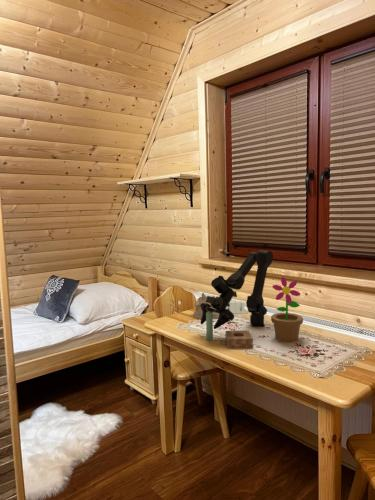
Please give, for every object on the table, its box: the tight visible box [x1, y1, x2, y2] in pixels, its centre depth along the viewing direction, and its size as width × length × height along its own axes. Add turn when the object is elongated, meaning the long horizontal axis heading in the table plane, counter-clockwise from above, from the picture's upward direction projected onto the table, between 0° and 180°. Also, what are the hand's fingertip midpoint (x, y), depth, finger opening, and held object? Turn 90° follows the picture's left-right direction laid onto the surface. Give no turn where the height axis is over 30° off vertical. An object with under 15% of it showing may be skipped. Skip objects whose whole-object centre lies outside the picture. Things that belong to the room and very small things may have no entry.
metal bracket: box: [226, 300, 249, 315], centre depth 220 cm, size 14×6×15 cm
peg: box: [205, 312, 214, 342], centre depth 172 cm, size 3×3×13 cm
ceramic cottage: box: [193, 292, 219, 320], centre depth 212 cm, size 16×16×15 cm
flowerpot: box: [270, 276, 304, 343], centre depth 171 cm, size 14×14×30 cm
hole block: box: [225, 329, 254, 349], centre depth 168 cm, size 11×11×4 cm
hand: (207, 326), depth 172 cm, fingers open, 9 cm apart
